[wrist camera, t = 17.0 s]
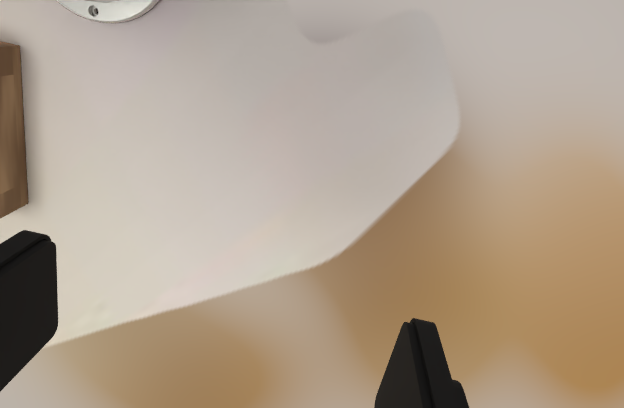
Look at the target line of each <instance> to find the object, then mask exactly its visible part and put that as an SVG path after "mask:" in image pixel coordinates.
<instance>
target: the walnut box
mask: <svg viewBox="0 0 624 408" xmlns="http://www.w3.org/2000/svg"><path fill="white" fill-rule="evenodd" d="M26 204H28V190H27V171H26V153H25V134H24V115H23V97H22V78H21V60H20V46H18V45H14V44H10V43H5V42H1V41H0V218H2V217H4V216H6V215H8V214H9V213H11V212H13V211H15V210H17V209H19V208H21V207H22V206H24V205H26Z"/></svg>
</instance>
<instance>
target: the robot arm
mask: <svg viewBox="0 0 624 408" xmlns="http://www.w3.org/2000/svg"><path fill="white" fill-rule="evenodd" d="M56 1H57V2H59V3H60V4H61V5H62V6H63V7H65V8H66V9H68V10H70V11H71V12H73V13H75V14H76V15H78V16H81V17H83V18H86V19H89V20H92V21H98V22H103V23H118V22H125V21H130V20H132V19H135V18H138V17H140V16H142V15H143V14H145V13H146V12H148V11H149V10H151V9H152V8H153V7H154V5H155V4H156V3H157V2H158V1H159V0H56ZM97 9H98V13H97ZM57 327H58V302H57V266H56V245H55V243H53V242H51V239H50V237H49V236H48V235H44V234H40V233H36V232H31V231H27V230H23V231H21V232H19V233H17V234H16V235H14V236H13V237H11V238H9V239H8V240H6V241H4V242H3V243H1V244H0V391H1V390H2V389H3V388H4V387H5V386H6V385H7V384H8V383H9V382H10V381H11V380H12V379H13V378H14V376H16V375H17V374H18V373H19V371H20V370H21V369H22V368H23V367H24V366H25V365H26V364H27V363H28V362H29V361H30V360H31V359H32V358H33V357H34V356H35V355H36V354H37V353H38V352H39V351H40V350H41V349H42V348H43V347H44V345H45V344H46V343H47V342H48V341H49V340H50V339H51V338H52V337H53V336H54V334H55V332H56V330H57ZM375 408H469V406H468V403H467V400H466V396H465V393H464V390H463V388H462V386H461V383H459V382H458V381H456V380H452V378H451V375H450V371H449V368H448V365H447V361H446V358H445V355H444V351H443V348H442V344H441V341H440V337H439V334H438V331H437V328H436V325H435V324H434V323H433V322H428V321H424V320H419V319H415V318H413V319H412V320H411V321H410V323H407V322H404V323H403V325H402V327H401V330H400V333H399V335H398V338H397V341H396V344H395V346H394V349H393V352H392V355H391V357H390V360H389V363H388V366H387V368H386V371H385V374H384V376H383V379H382V382H381V385H380V387H379V390H378V393H377V396H376V400H375Z"/></svg>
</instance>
